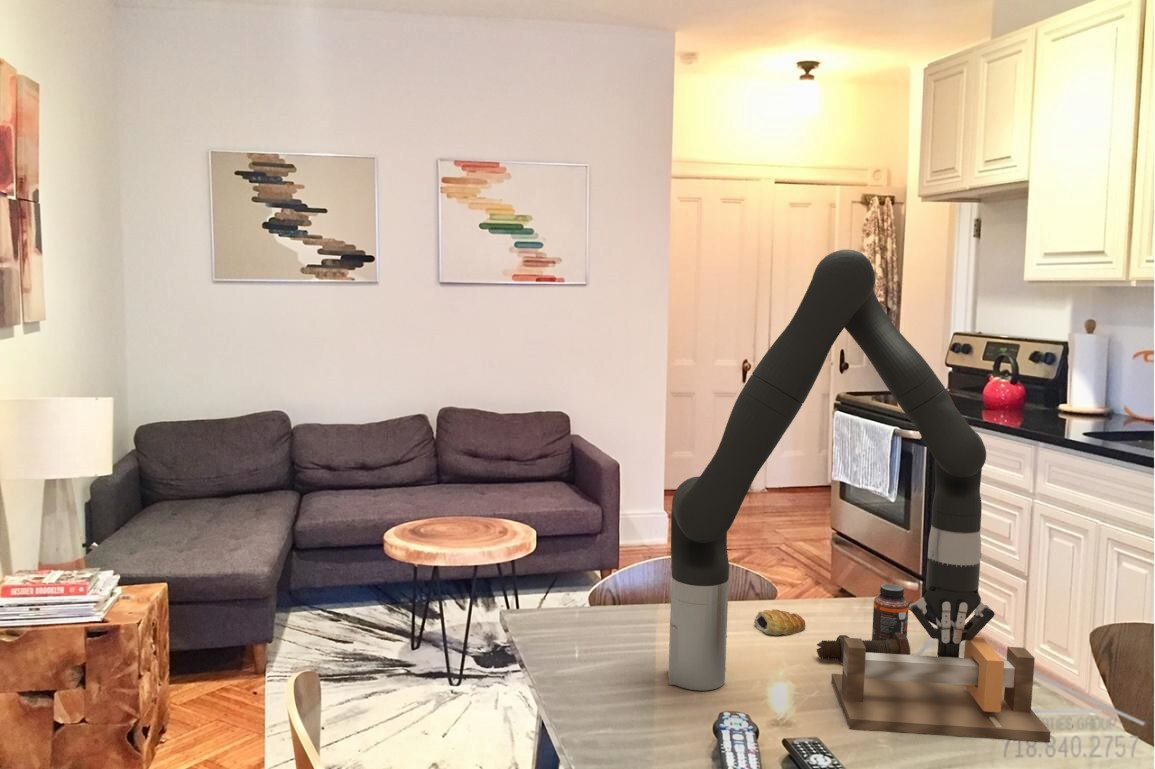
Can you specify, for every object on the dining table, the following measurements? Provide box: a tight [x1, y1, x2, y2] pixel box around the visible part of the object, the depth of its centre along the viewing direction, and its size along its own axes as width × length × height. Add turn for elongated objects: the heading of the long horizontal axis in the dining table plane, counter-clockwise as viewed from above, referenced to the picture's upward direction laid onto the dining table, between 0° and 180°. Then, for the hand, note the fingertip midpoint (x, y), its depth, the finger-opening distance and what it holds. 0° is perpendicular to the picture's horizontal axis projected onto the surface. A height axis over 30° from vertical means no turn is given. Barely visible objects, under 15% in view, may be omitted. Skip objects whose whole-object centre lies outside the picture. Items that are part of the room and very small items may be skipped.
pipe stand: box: [830, 637, 1051, 743], centre depth 140 cm, size 28×16×10 cm, turn 84°
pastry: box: [753, 609, 806, 637], centre depth 173 cm, size 9×7×4 cm
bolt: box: [816, 633, 911, 665], centre depth 158 cm, size 6×5×15 cm
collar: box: [963, 635, 1004, 712], centre depth 139 cm, size 2×10×8 cm, turn 174°
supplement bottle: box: [871, 583, 909, 641], centre depth 164 cm, size 6×6×11 cm
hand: (947, 663), depth 143 cm, fingers closed
